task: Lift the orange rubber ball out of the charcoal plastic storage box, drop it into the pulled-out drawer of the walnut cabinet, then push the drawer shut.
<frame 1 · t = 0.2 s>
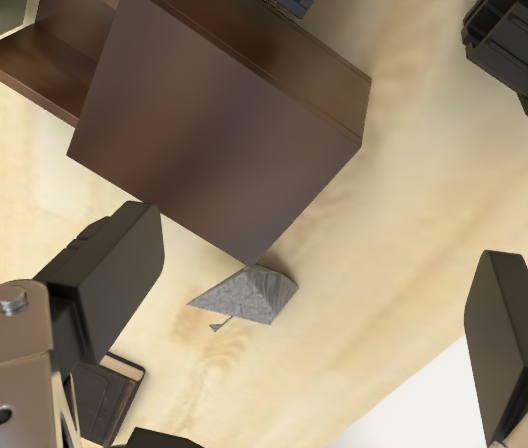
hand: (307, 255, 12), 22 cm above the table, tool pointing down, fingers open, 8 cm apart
cabinet: (242, 87, 33), on the table
hardcover book: (79, 381, 67), on the table
drawer: (69, 13, 28), point 5 cm above the table, slide at 8.5 cm
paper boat: (252, 275, 45), on the table
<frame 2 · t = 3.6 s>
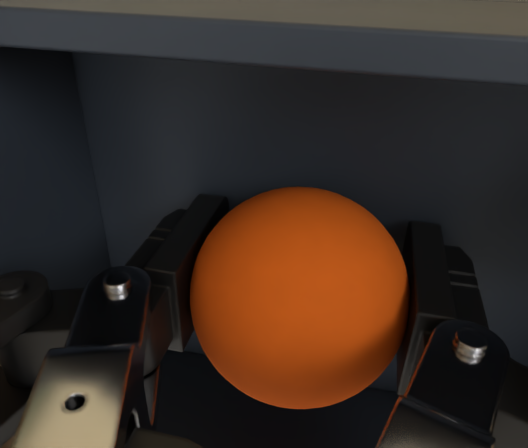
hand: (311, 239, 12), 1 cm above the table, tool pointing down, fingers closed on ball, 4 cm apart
box: (317, 226, 13), on the table
ball: (298, 293, 11), point 3 cm above the table, touching gripper
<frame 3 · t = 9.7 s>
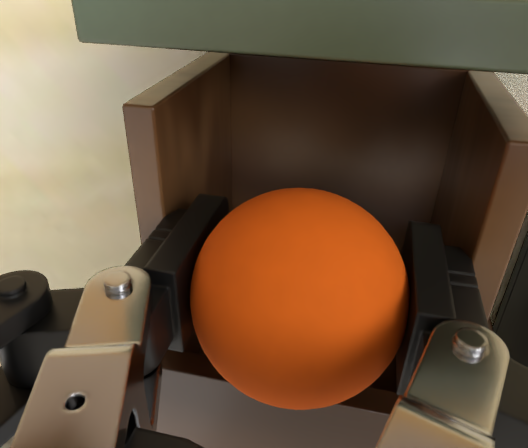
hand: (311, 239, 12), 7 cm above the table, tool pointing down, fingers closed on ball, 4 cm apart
cabinet: (316, 339, 24), on the table
drawer: (324, 185, 14), point 5 cm above the table, slide at 8.5 cm, touching gripper
ball: (298, 294, 11), point 9 cm above the table, touching gripper
when the fingers open (9 cm above the table, at t = 22.2 s): ball drops 7 cm, resting on drawer.
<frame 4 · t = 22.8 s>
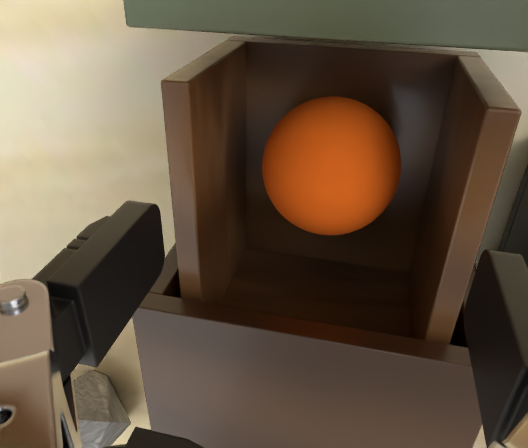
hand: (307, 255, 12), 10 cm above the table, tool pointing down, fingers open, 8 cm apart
cabinet: (321, 310, 26), on the table
drawer: (331, 158, 16), point 5 cm above the table, slide at 8.5 cm, touching ball
ball: (330, 167, 17), point 4 cm above the table, touching drawer
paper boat: (88, 376, 34), on the table
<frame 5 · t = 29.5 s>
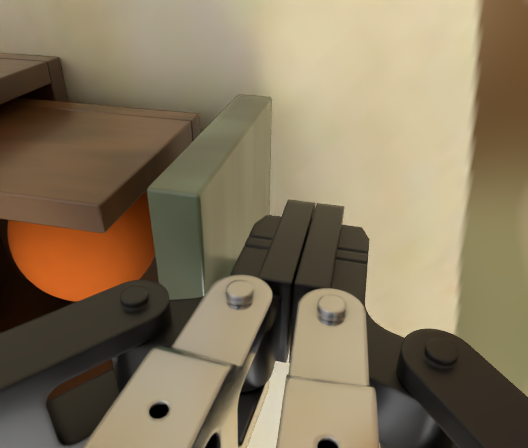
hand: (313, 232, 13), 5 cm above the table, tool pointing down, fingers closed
drawer: (89, 260, 17), point 5 cm above the table, slide at 7.2 cm, touching ball, gripper
ball: (87, 230, 16), point 4 cm above the table, tilted 31°, touching drawer
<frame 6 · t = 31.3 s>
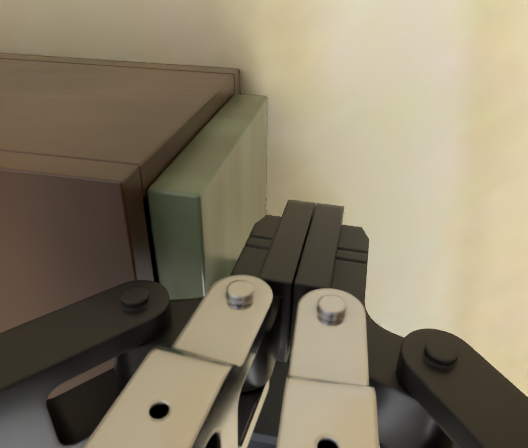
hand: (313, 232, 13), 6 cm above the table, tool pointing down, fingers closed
cabinet: (90, 194, 21), on the table
box: (214, 424, 27), on the table
drawer: (85, 261, 16), point 5 cm above the table, slide at 0.0 cm, touching ball, cabinet, gripper
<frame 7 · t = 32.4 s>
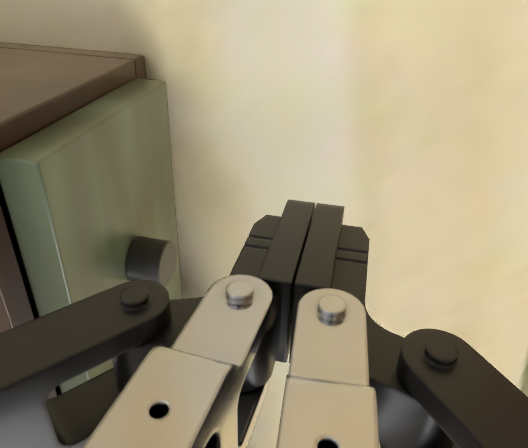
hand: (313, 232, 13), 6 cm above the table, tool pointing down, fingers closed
cabinet: (18, 174, 22), on the table
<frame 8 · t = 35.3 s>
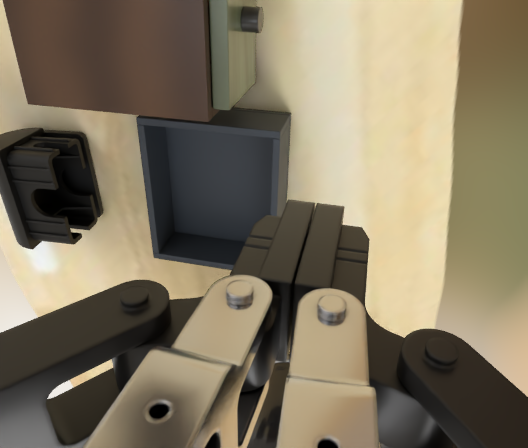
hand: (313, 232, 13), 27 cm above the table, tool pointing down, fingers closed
cabinet: (160, 5, 37), on the table
box: (225, 179, 44), on the table
drawer: (165, 14, 33), point 5 cm above the table, slide at 0.0 cm, touching ball, cabinet
end cap: (65, 172, 48), on the table
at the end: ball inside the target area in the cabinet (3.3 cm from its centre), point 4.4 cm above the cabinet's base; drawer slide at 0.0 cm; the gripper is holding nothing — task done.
